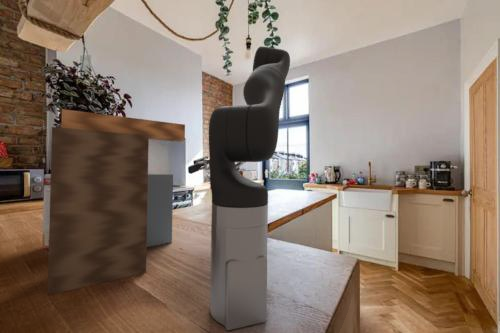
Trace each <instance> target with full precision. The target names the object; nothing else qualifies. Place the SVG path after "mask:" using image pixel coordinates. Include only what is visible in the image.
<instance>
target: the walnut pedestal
mask: <svg viewBox="0 0 500 333" xmlns="http://www.w3.org/2000/svg"><path fill="white" fill-rule="evenodd" d="M149 140H150V139H149V135H138V134H126V133H115V132H104V131H93V130H82V129H71V128H61V127H57V126H51V143H50V144H51V151H50V154H51V155H50V174H51V184H50V224H49V249H48V263H47V264H48V266H47V267H48V270H47V273H48V274H47V296H51V295H55V294H56V295H57V294H60V293H65V292H68V291H73V290H77V289H82V288H86V287H90V286H91V287H92V286H94V285H98V284H99V285H100V284H103V283H106V282H112V281H117V280H120V279H124V278H129V277H134V276H137V275H143V274H146V273H147V248H148V247H147V196H148V174H149V144H150V143H149Z"/></svg>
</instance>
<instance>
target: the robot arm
mask: <svg viewBox="0 0 500 333" xmlns="http://www.w3.org/2000/svg"><path fill="white" fill-rule="evenodd" d="M252 64H253V65H252V72H251V73H250V75H249V76H248V77H247V79H246V81H245V83H244V86H243V93H242V95H243V99H244V101H245V103H246V104H243V105H241V104H240V105H226V106H219V107H216V108H214V110H213V111H212V113H211V115H210V117H209V122H208V149H209V150H208V152H209V154H208V155H209V156H208V155H206V156H203V157H200V158H197V159H195V160H193V164H191V165H189V166H187V167H188V168H187V171H188V174H195V173H196V172H199V171H202V170H204V171H209V182H210V183H209V184H210V185H209V186H210V192H211V225H210V227H211V228H210V230H211V231H210V232H211V233H210V283H209V284H210V285H209V286H210V289H209V290H210V291H209V292H210V296H209V298H210V299H209V301H210V302H209V303H210V306H209V311H210V312H209V313H210V315H211V317H212V318H213V320H215V322H218V323H219V324H221V325H223V326H224V327H225V330H226V331H231V330H236V329H241V328H245V327H249V326H252V325H257V324H262V323H266V322H267V317H268V315H267V311H268V310H267V309H268V308H267V306H268V304H267V302H268V301H267V299H268V293H267V292H268V228H269V227H268V220H269V219H268V218H269V190H268V188H267V186H265V185H264V184H262V183H259V182H256V181H254V180H251V179H249V178H247V177H245V176H244V175H242V174H241V173H240V172H239V171H240V169H241V168H240V167H241V166H243V165H244V164H245V163H261V162H266V161H269V160H270V159H272V158H273V156H274V155H275V153H276V149H277V146H278V139H279V125H280V109H281V105H282V102H283V98H284V92H285V87H286V80H287V76H288V74H289V70H290V67H291V57H290V53H289V52H288V51H287V50H284V49H281V48H276V47H270V46H269V47H268V46H263V45H262V46H261V45H260V46H259V47H258V48H257V49H256V50H255V54H254V58H253V62H252Z"/></svg>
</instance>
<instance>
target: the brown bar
mask: <svg viewBox="0 0 500 333" xmlns="http://www.w3.org/2000/svg"><path fill="white" fill-rule="evenodd" d="M60 125H61V127H60V128H71V129H82V130H93V131H104V132H115V133H126V134H138V135H149V140H150V141H151V140H152V141H166V142H167V141H168V142H177V143H181V142H183V141H185V140H186V138H185V136H186V124H184V123H183V124H182V123H173V122H167V121H159V120H153V119H151V120H150V119H143V118H135V117H126V116H121V115H120V116H119V115H113V114H112V115H111V114H104V113H96V112H87V111H80V110H73V109H64V108H63V109H61V124H60Z"/></svg>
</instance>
